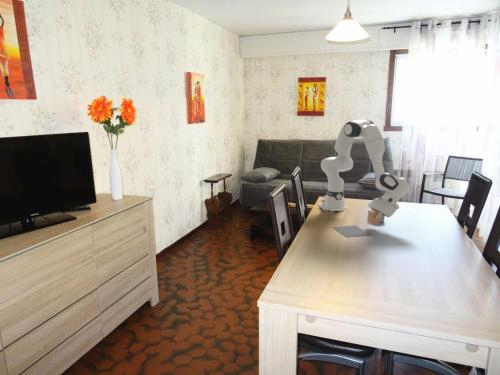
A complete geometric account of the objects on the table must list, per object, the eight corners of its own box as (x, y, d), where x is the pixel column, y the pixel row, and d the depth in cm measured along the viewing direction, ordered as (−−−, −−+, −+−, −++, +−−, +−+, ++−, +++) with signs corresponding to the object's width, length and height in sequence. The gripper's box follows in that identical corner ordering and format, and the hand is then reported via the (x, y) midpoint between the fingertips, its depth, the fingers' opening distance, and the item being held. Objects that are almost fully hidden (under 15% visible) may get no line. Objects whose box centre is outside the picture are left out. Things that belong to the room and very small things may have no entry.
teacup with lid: (384, 222, 227) (386, 205, 224) (370, 221, 230) (371, 204, 227) (384, 217, 238) (385, 201, 235) (370, 216, 241) (371, 200, 238)
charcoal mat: (332, 227, 217) (332, 227, 217) (355, 225, 221) (355, 225, 221) (346, 237, 200) (346, 236, 200) (371, 235, 204) (371, 234, 204)
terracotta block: (367, 222, 216) (368, 210, 214) (373, 222, 217) (374, 209, 215) (371, 225, 211) (372, 212, 210) (378, 224, 212) (379, 212, 211)
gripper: (375, 193, 222) (360, 208, 222) (395, 201, 202) (378, 218, 203) (381, 199, 224) (366, 214, 224) (401, 208, 204) (384, 225, 205)
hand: (372, 216), depth 213 cm, fingers closed on terracotta block, 5 cm apart
